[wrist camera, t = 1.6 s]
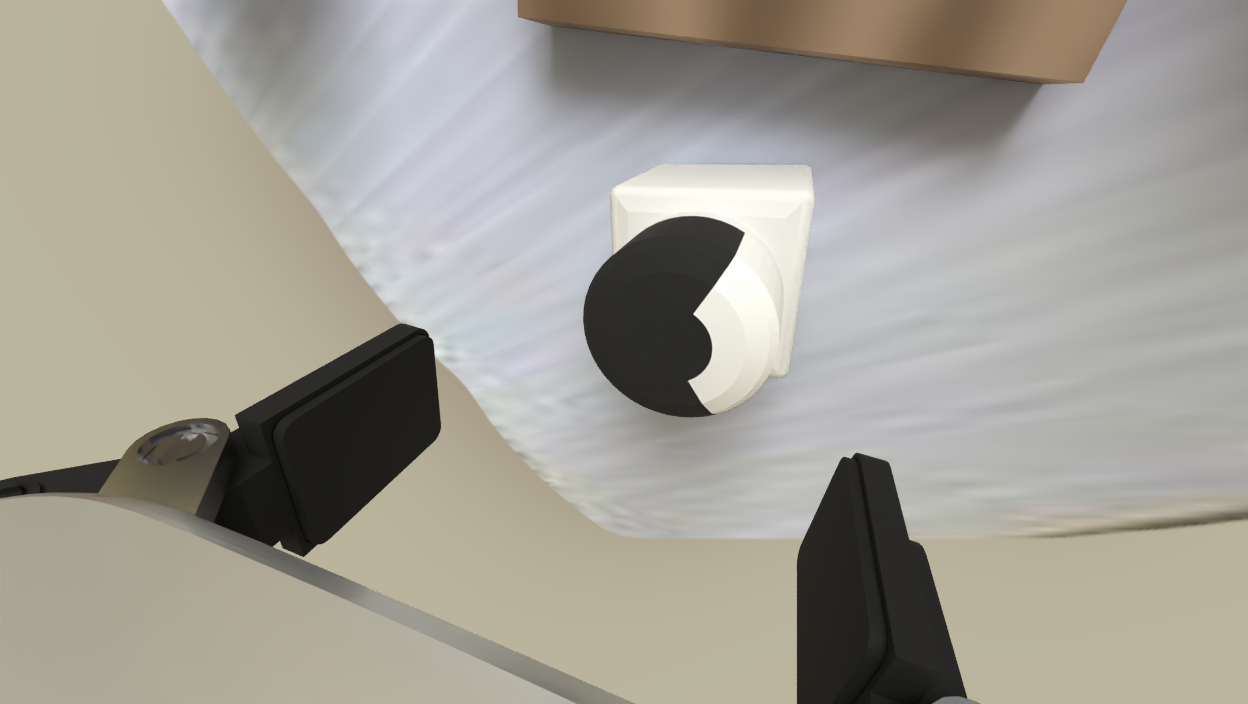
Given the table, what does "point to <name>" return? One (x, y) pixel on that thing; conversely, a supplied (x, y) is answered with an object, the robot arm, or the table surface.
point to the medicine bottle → (701, 283)
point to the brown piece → (871, 30)
